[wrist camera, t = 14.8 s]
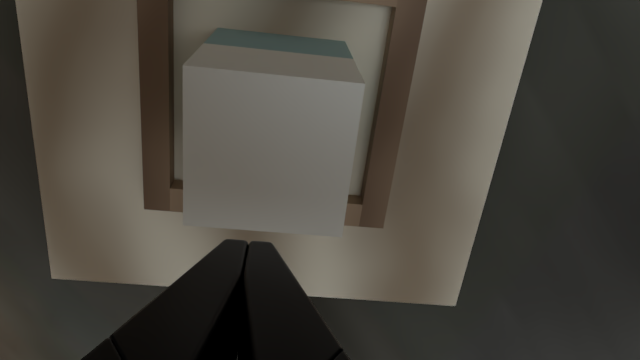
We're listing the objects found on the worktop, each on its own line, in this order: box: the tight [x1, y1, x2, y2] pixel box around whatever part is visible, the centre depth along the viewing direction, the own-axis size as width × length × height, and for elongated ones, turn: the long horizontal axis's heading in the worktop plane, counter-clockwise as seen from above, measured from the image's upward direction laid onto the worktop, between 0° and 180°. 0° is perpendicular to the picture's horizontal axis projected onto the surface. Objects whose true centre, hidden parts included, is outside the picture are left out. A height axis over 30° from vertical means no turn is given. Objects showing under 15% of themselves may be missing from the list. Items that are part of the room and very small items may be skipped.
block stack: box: [183, 28, 365, 237], centre depth 16 cm, size 4×4×6 cm
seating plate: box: [15, 0, 542, 306], centre depth 19 cm, size 18×18×2 cm
